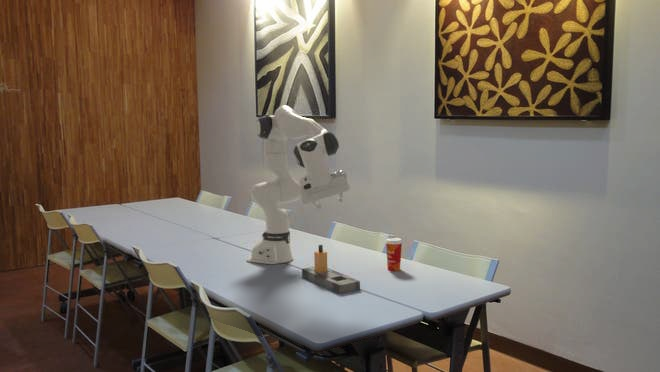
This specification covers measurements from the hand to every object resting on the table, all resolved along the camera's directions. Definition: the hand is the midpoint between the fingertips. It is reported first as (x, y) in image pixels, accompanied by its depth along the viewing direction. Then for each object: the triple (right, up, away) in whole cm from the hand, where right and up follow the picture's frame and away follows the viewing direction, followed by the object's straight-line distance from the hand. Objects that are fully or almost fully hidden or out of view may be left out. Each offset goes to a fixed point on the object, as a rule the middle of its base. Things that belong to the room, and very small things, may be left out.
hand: (330, 204), depth 244 cm
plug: (-4, -33, +12) cm, 35 cm away
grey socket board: (0, -34, +6) cm, 34 cm away
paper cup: (+29, -31, +25) cm, 50 cm away
